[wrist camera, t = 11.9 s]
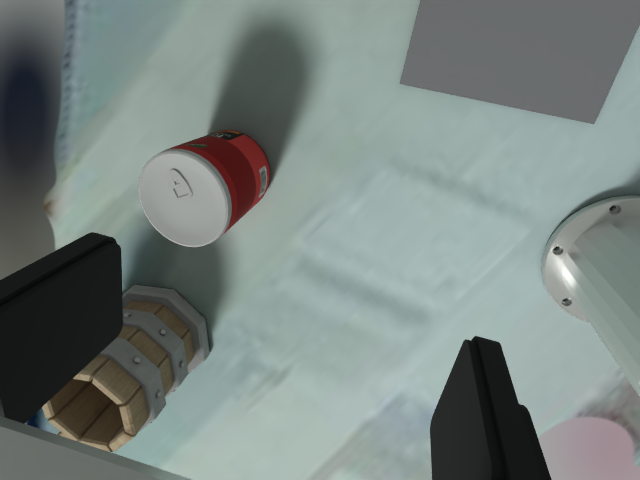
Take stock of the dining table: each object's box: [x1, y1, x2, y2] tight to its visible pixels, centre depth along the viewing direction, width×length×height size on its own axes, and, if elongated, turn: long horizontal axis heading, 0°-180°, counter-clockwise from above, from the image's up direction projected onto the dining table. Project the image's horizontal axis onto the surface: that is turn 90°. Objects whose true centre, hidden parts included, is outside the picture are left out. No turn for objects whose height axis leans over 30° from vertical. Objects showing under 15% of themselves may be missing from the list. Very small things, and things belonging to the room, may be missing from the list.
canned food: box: [138, 130, 270, 247], centre depth 37 cm, size 8×8×11 cm
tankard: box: [42, 285, 210, 452], centre depth 48 cm, size 20×13×15 cm, turn 135°
